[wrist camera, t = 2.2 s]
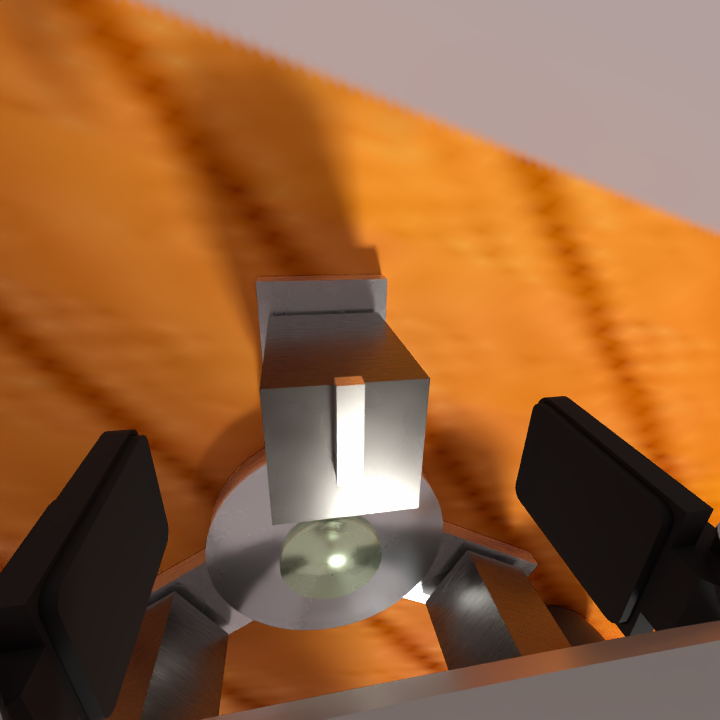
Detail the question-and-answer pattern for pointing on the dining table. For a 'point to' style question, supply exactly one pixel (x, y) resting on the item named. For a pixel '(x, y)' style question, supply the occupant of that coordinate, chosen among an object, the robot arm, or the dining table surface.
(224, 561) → the tribrach base
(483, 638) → the knob
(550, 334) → the dining table surface
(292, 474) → the knob
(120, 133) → the dining table surface
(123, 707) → the knob
